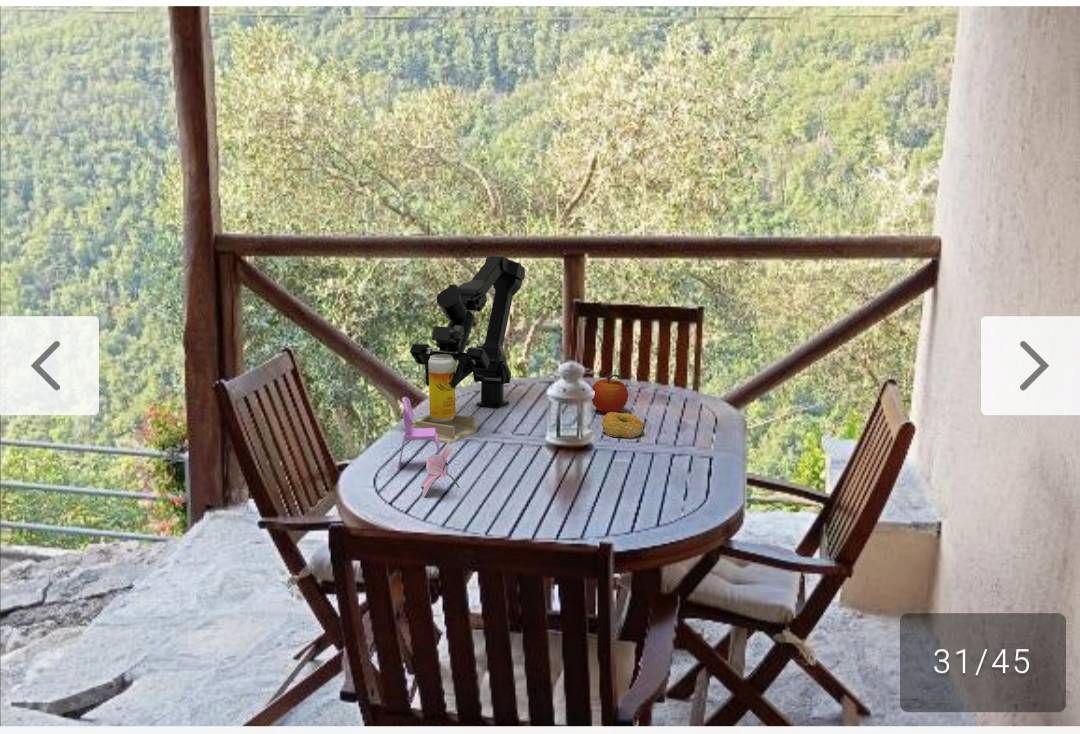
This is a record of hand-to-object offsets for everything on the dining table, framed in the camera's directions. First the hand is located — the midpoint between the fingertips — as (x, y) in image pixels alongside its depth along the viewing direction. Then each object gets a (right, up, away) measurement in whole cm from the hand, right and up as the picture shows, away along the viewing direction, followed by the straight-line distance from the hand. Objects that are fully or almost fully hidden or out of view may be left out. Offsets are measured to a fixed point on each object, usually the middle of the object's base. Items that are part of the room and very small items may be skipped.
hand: (439, 386), depth 251 cm
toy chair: (-3, -17, -20) cm, 26 cm away
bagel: (+43, -12, +5) cm, 45 cm away
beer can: (0, -8, +3) cm, 8 cm away
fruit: (+41, -7, +24) cm, 48 cm away
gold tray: (0, -11, +4) cm, 12 cm away
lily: (+3, -20, -36) cm, 42 cm away
